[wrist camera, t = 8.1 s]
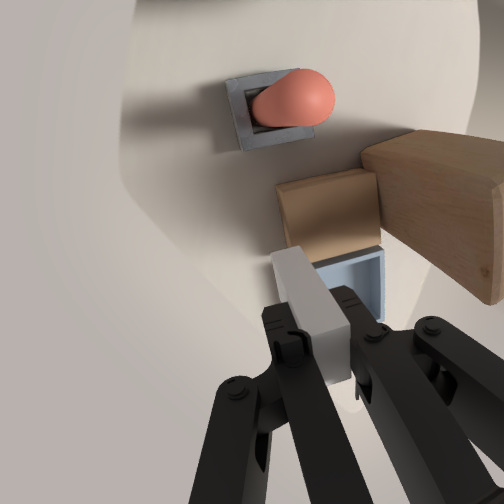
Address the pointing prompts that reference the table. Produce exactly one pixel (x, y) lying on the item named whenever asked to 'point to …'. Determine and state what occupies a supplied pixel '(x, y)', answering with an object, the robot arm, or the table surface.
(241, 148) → the socket
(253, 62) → the table surface
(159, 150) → the table surface
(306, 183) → the cardboard box
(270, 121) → the dowel
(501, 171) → the wooden block
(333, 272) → the tray
